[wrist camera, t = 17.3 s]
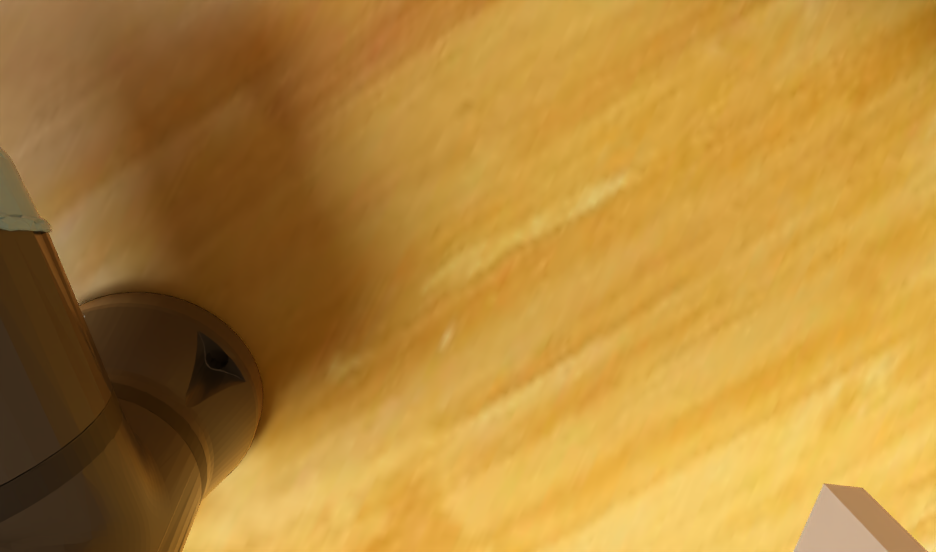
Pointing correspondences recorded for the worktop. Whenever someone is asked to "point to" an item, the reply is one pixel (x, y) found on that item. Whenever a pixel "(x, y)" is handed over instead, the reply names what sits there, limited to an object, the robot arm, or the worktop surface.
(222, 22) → the worktop surface
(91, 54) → the worktop surface
